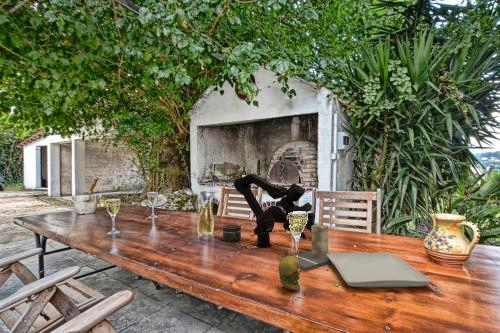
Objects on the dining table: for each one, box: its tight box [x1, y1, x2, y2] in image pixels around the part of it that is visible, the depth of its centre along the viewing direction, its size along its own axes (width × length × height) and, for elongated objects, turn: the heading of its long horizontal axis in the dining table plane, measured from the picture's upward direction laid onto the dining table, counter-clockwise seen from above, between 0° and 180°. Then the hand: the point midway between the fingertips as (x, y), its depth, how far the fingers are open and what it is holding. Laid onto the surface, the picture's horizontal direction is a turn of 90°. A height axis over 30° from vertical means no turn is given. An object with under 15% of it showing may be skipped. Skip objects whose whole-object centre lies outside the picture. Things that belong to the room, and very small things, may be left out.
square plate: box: [326, 252, 433, 288], centre depth 100 cm, size 27×27×4 cm
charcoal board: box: [292, 250, 333, 272], centre depth 115 cm, size 13×20×2 cm, turn 124°
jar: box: [222, 224, 242, 244], centre depth 149 cm, size 10×10×8 cm
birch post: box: [310, 223, 329, 259], centre depth 116 cm, size 5×5×13 cm
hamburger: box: [278, 253, 301, 291], centre depth 90 cm, size 8×7×12 cm
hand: (311, 236), depth 119 cm, fingers open, 9 cm apart
